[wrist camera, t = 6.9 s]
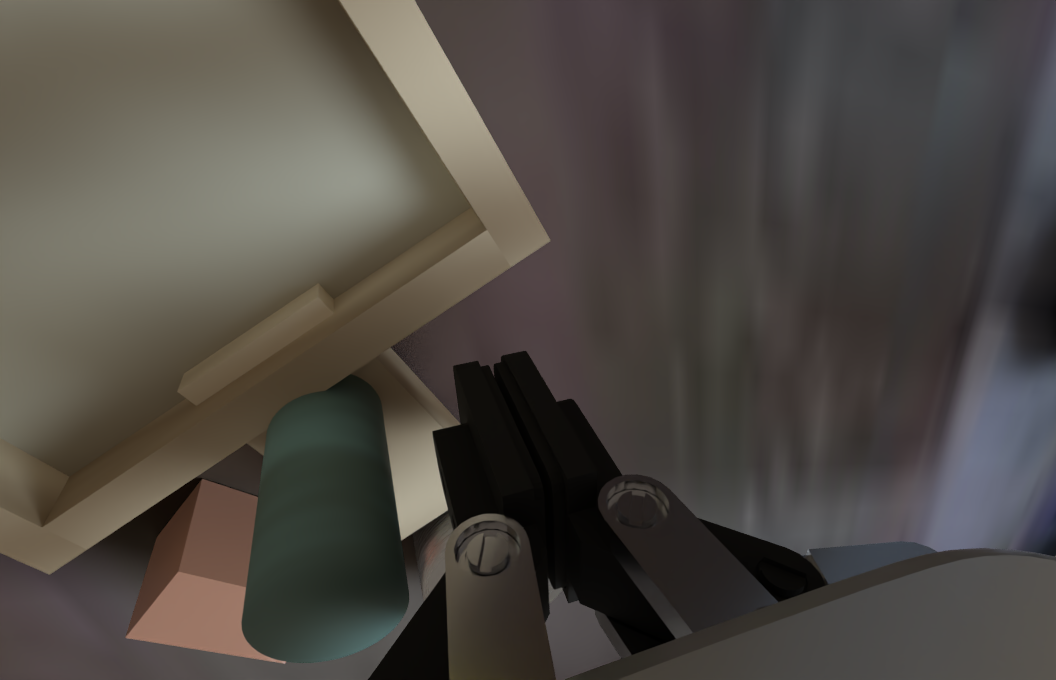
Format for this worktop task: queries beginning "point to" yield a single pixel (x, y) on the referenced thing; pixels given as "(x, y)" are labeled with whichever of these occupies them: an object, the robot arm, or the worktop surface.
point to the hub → (440, 554)
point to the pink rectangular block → (200, 575)
